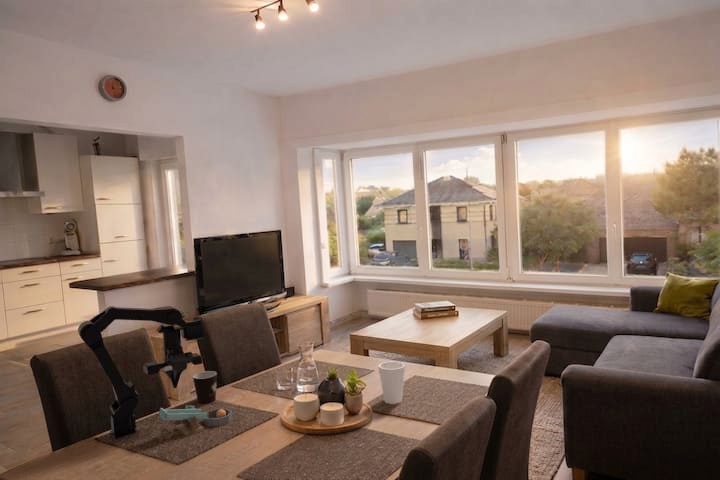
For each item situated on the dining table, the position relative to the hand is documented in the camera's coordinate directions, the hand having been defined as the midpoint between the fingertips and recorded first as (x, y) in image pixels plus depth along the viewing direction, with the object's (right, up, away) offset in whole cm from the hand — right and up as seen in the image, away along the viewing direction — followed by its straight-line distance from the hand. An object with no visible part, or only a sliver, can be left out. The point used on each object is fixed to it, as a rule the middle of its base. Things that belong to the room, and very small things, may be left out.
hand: (174, 387), depth 183 cm
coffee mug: (+7, -9, +18) cm, 21 cm away
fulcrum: (+5, -12, -11) cm, 17 cm away
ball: (+16, -8, -2) cm, 19 cm away
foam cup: (+76, -7, +7) cm, 77 cm away
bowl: (+16, -10, -3) cm, 19 cm away
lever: (+4, -7, -7) cm, 10 cm away
